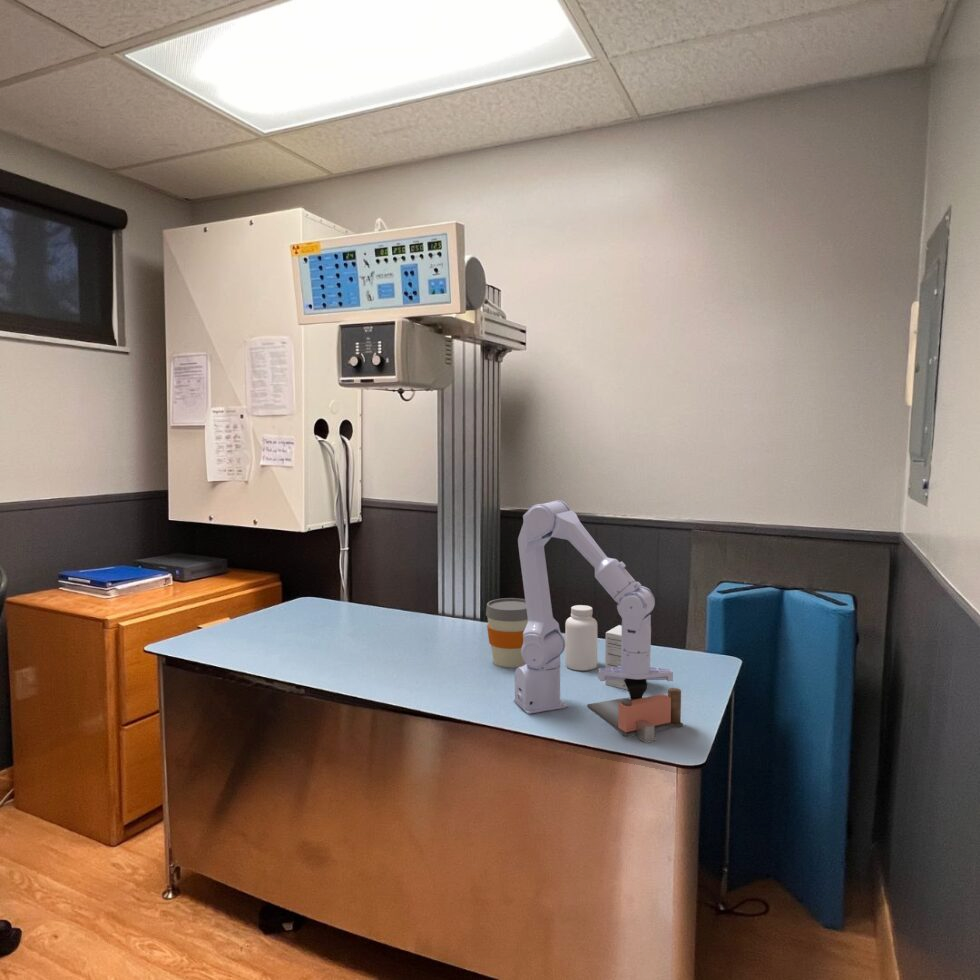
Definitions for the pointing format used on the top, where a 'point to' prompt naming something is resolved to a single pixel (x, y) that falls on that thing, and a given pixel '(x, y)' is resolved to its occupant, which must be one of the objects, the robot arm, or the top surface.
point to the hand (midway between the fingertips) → (634, 714)
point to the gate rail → (644, 711)
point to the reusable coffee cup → (507, 630)
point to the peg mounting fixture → (610, 708)
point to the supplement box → (614, 654)
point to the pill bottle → (581, 639)
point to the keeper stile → (645, 731)
